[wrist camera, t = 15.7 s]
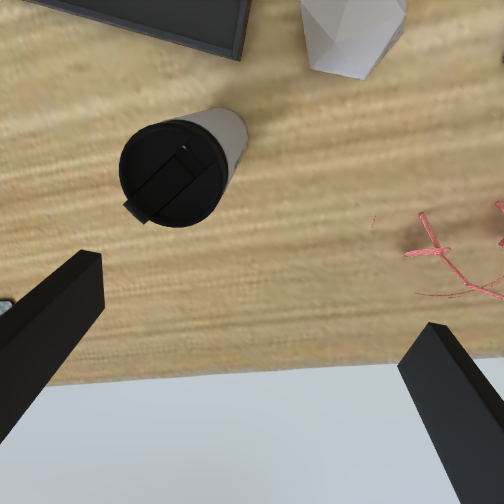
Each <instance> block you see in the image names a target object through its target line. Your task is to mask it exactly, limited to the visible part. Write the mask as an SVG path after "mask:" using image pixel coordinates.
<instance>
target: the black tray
mask: <svg viewBox="0 0 504 504" xmlns="http://www.w3.org/2000/svg"><path fill="white" fill-rule="evenodd" d="M24 1H28V2H31V3H35V4H38V5H42V6H45V7H49V8H52V9H56V10H59V11H63V12H67V13H70V14H74V15H77V16H81V17H84V18H88V19H91V20H95V21H98V22H102V23H105V24H109V25H112V26H116V27H119V28H123V29H126V30H130V31H133V32H137V33H140V34H144V35H148V36H151V37H155V38H158V39H162V40H165V41H169V42H172V43H176V44H179V45H183V46H186V47H190V48H193V49H197V50H200V51H204V52H207V53H211V54H214V55H218V56H221V57H225V58H229V59H232V60H236V61H239V62H240V61H241V56H242V50H243V45H244V39H245V34H246V28H247V23H248V17H249V12H250V6H251V1H252V0H24Z"/></svg>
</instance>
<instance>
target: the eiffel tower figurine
mask: <svg viewBox="0 0 504 504" xmlns="http://www.w3.org/2000/svg"><path fill="white" fill-rule="evenodd" d="M12 306H13V305H12V304H11V303H10V301H5V302H0V316H1V315H2V314H3V313H5V312H6V311H7V310H8V309H9V308H11V307H12Z"/></svg>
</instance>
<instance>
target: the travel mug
mask: <svg viewBox="0 0 504 504" xmlns="http://www.w3.org/2000/svg"><path fill="white" fill-rule="evenodd" d="M247 144H248V131H247V127H246V125H245V123H244V121H243V119H242V118H241V117H240V116H239V115H238V114H237V113H236V112H234V111H232V110H230V109H228V108H214V109H210V110H206V111H202V112H197V113H193V114H189V115H185V116H181V117H177V118H173V119H169V120H164V121H162V122H160V123H157V124H153V125H149V126H147V127H145V128H143V129H141V130H139V131H138V132H137V133H135V134H134V135H133V136H132V137H131V138H130V139H129V141H128V142H127V143H126V145H125V147H124V149H123V151H122V153H121V157H120V162H119V177H120V182H121V186H122V189H123V191H124V194H125V196H126V197H127V199H128V200H127V201H126V202H125V203H124V204H123V205H124V206H125V207H126V209H127V210H128V211H129V212H130V213H131V214H132V215H133V216H135V217H136V218H137V219H138V220H139V221H140V222H141V223H143V224H145V223H146V222H147V221H148V220H150V221H152V222H154V223H156V224H159V225H162V226H166V227H172V228H182V227H187V226H192V225H194V224H197V223H199V222H201V221H202V220H204V219H205V218H207V217H208V216H209V215H210V214H211V213H212V212H213V211H214V209H215V207H216V206H217V204H218V203H219V201H220V199H221V197H222V195H223V194H224V192H225V190H226V188H227V186H228V184H229V182H230V180H231V178H232V176H233V174H234V172H235V170H236V168H237V166H238V164H239V162H240V160H241V158H242V156H243V154H244V152H245V150H246V147H247Z"/></svg>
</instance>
